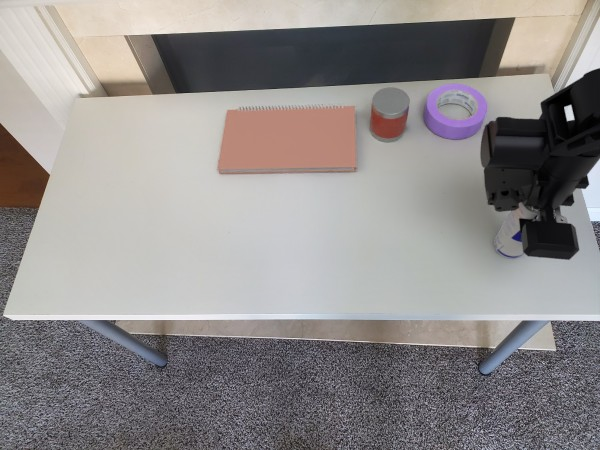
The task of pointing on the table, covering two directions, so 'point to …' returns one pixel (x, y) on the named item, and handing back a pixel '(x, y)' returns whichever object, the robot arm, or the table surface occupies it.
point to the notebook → (289, 140)
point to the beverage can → (513, 232)
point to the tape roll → (451, 126)
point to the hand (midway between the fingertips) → (522, 224)
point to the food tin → (389, 114)
